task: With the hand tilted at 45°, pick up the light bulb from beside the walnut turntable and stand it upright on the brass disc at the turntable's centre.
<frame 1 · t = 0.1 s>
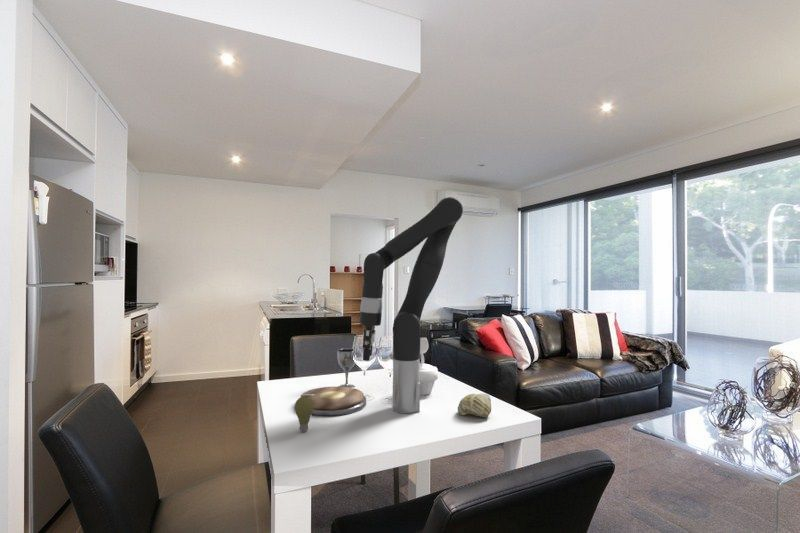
hand: (367, 357, 131), 17 cm above the table, tool pointing down, fingers open, 8 cm apart
wine glass: (346, 387, 157), on the table
turntable platter: (332, 397, 135), point 2 cm above the table, hinge at 0.0°
light bulb: (303, 432, 111), on the table
turntable base: (332, 404, 135), on the table
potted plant: (422, 393, 150), on the table
seashell: (475, 415, 126), on the table
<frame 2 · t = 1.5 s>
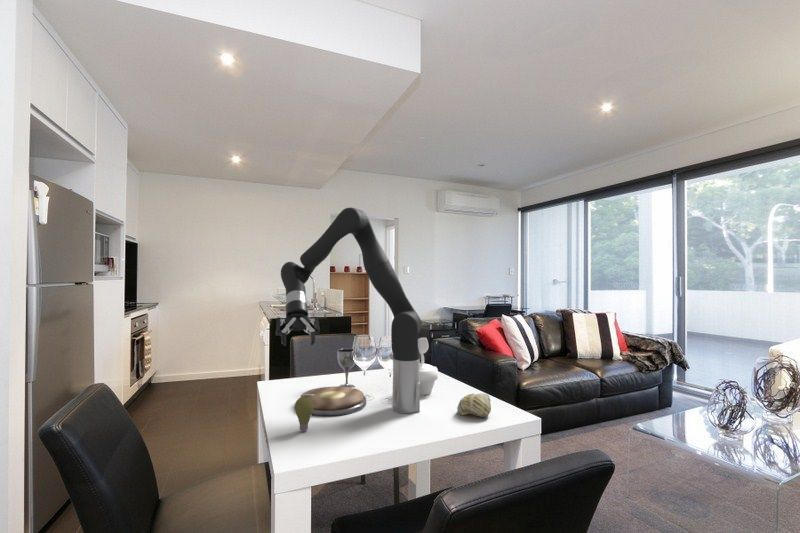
hand: (298, 344, 124), 23 cm above the table, tool tilted 45°, fingers open, 8 cm apart
nothing on the table moved.
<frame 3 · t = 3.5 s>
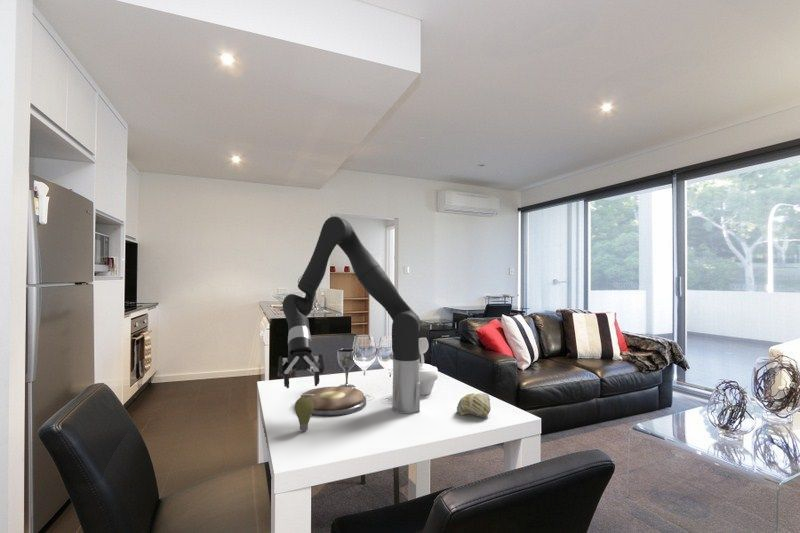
hand: (302, 385, 117), 11 cm above the table, tool tilted 45°, fingers open, 8 cm apart
nothing on the table moved.
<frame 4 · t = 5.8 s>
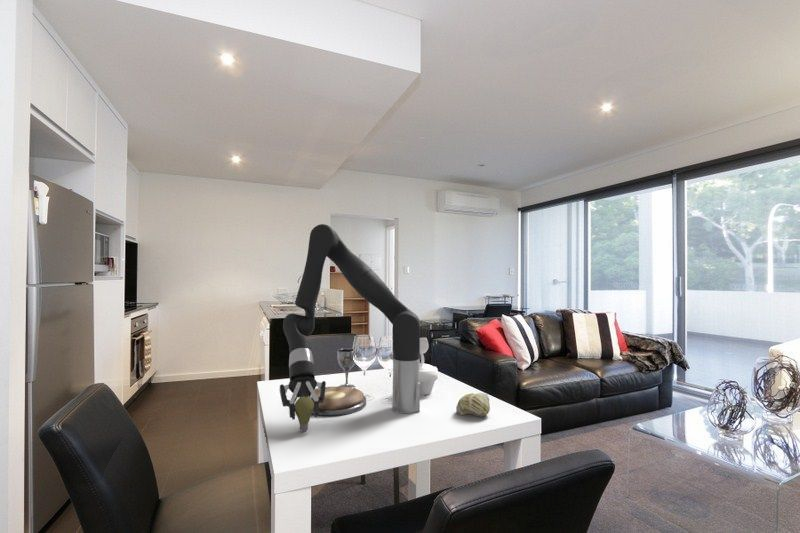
hand: (304, 416, 109), 5 cm above the table, tool tilted 45°, fingers closed on light bulb, 5 cm apart
light bulb: (303, 432, 111), on the table, touching gripper
everything else where it was.
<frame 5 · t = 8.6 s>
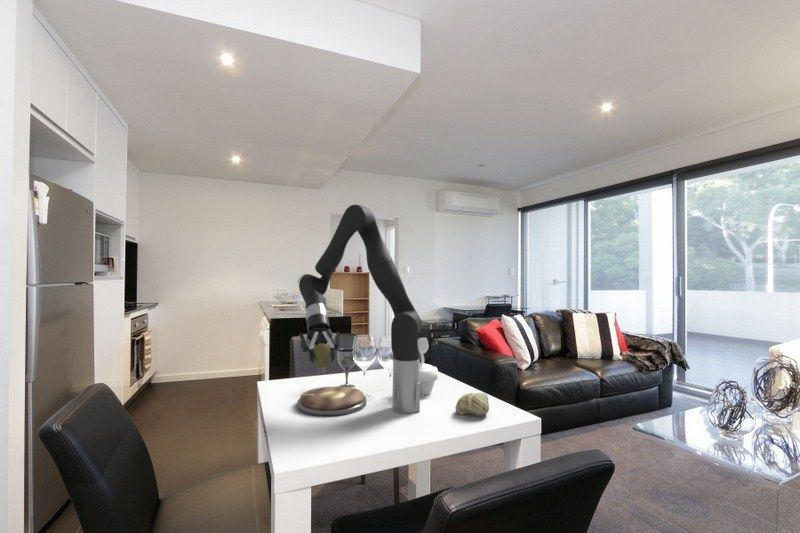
hand: (322, 360, 123), 18 cm above the table, tool tilted 45°, fingers closed on light bulb, 5 cm apart
light bulb: (321, 374, 124), point 13 cm above the table, touching gripper
everything else where it was.
when the fingers open (9 cm above the table, at t = 11.5 s): light bulb drops 1 cm, resting on turntable platter.
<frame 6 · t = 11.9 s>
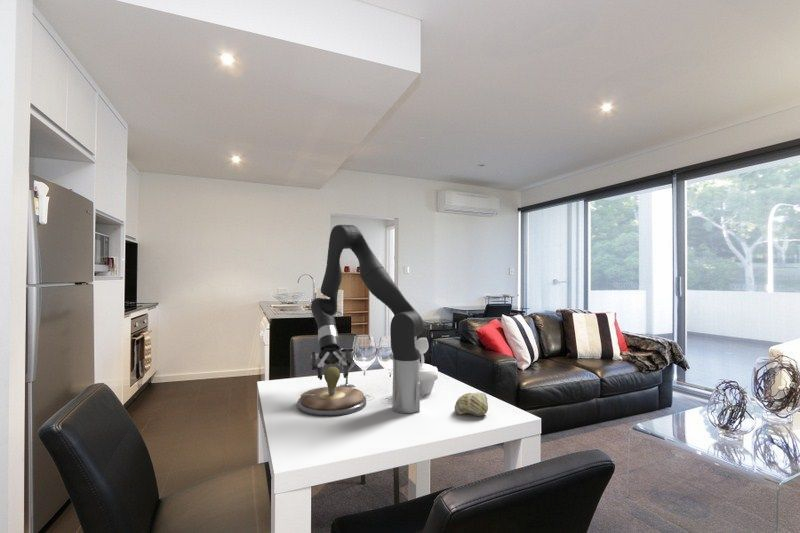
hand: (333, 377, 134), 10 cm above the table, tool tilted 45°, fingers open, 8 cm apart
turntable platter: (332, 397, 135), point 2 cm above the table, hinge at 0.0°, touching light bulb
light bulb: (331, 395, 135), point 3 cm above the table, touching turntable platter
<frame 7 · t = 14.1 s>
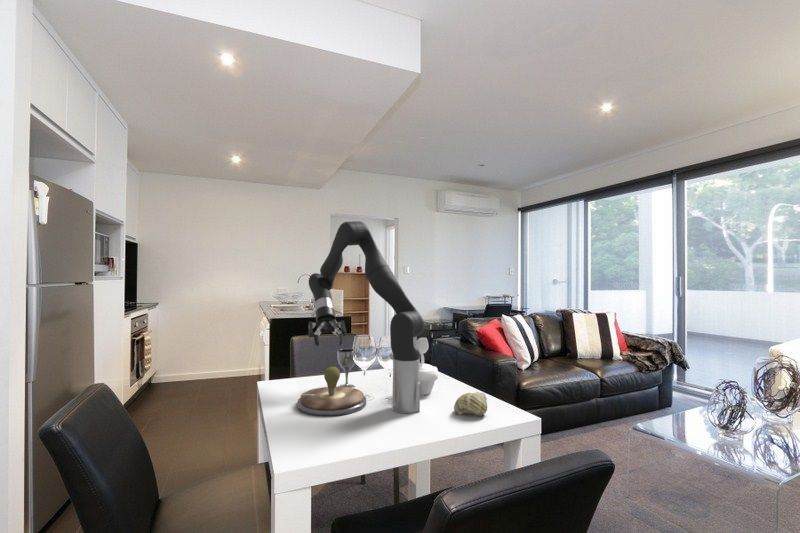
hand: (329, 344, 144), 20 cm above the table, tool tilted 45°, fingers open, 8 cm apart
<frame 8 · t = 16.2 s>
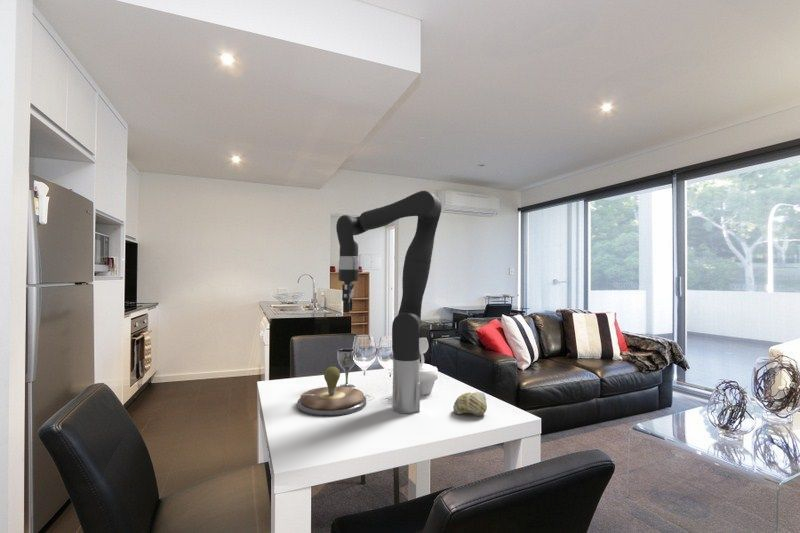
hand: (348, 311, 144), 32 cm above the table, tool pointing down, fingers open, 8 cm apart
at the end: light bulb 0.3 cm off-centre on the turntable platter, point 3.1 cm above the turntable platter's base; light bulb tilted 0°; the gripper is holding nothing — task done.
